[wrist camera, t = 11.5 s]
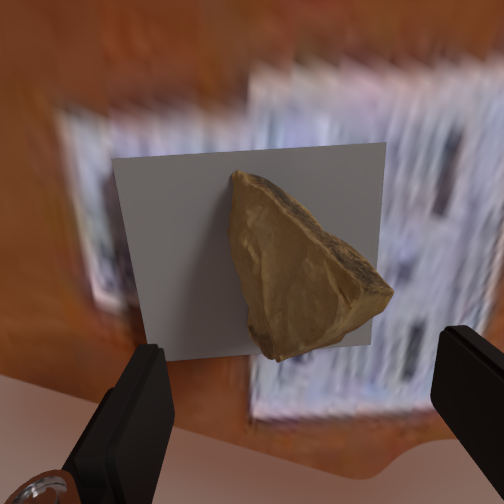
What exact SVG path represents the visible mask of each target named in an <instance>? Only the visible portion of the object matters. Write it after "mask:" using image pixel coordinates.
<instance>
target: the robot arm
mask: <svg viewBox="0 0 504 504" xmlns="http://www.w3.org/2000/svg"><path fill="white" fill-rule="evenodd" d="M430 398H431V402H432V404H433V406H434V408H435V409H436V410H437V412H438V413H439V414H440V416H441V417H442V418H443V420H444V421H445V423H446V424H447V425H448V427H449V428H450V429H451V431H452V432H453V433H454V435H455V436H456V437H457V439H458V440H459V441H460V443H461V444H462V445H463V446H464V448H465V449H466V451H467V452H468V453H469V455H470V456H471V457H472V459H473V460H474V461H475V463H476V464H477V465H478V467H479V468H480V469H481V471H482V472H483V473H484V475H485V476H486V477H487V479H488V480H489V481H490V483H491V484H492V486H493V487H494V488H495V490H496V491H497V492H498V494H499V495H500V496H501V498H502V499H503V500H504V353H502V352H501V351H500V350H499V349H497V348H496V347H495V346H493V345H492V344H491V343H489V342H488V341H487V340H486V339H484V338H483V337H482V336H480V335H479V334H478V333H476V332H475V331H474V330H473V329H471V328H470V327H468V326H467V325H458V326H447V327H446V328H445V329H444V331H441V333H440V335H439V342H438V348H437V355H436V361H435V368H434V374H433V380H432V387H431V393H430ZM174 417H175V411H174V405H173V399H172V393H171V387H170V382H169V376H168V370H167V364H166V359H165V353H164V349H163V348H159V347H158V345H157V344H141V345H139V346H138V347H137V349H136V350H135V352H134V354H133V356H132V357H131V359H130V361H129V363H128V364H127V366H126V368H125V370H124V371H123V373H122V375H121V377H120V379H119V380H118V382H117V384H116V386H115V387H114V388H111V389H109V390H108V391H107V393H106V394H105V396H104V397H103V399H102V401H101V403H100V404H99V406H98V408H97V409H96V411H95V413H94V414H93V416H92V418H91V419H90V421H89V423H88V425H87V426H86V428H85V430H84V431H83V433H82V435H81V437H80V438H79V440H78V441H77V443H76V445H75V447H74V448H73V450H72V452H71V453H70V455H69V457H68V458H67V460H66V462H65V463H64V465H63V467H62V469H61V470H51V471H47V472H43V473H41V474H39V475H37V476H35V477H33V478H32V479H30V480H29V481H27V482H26V483H24V484H23V485H22V486H20V487H19V488H18V489H17V490H16V491H15V492H14V493H13V494H12V495H11V496H10V497H9V498H8V499H7V501H6V502H5V503H4V504H152V500H153V497H154V493H155V489H156V485H157V482H158V478H159V475H160V471H161V467H162V463H163V460H164V456H165V453H166V449H167V445H168V441H169V438H170V434H171V430H172V427H173V423H174Z"/></svg>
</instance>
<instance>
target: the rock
mask: <svg viewBox="0 0 504 504" xmlns="http://www.w3.org/2000/svg"><path fill="white" fill-rule="evenodd" d="M231 179H232V181H233V186H234V190H233V196H232V209H231V213H230V217H229V229H228V230H227V233H228V237H229V243H230V247H231V257H232V260H233V262H234V265H235V270H236V273H237V274H238V275H239V278H240V282H241V290H242V293H243V296H244V298H245V300H246V303H247V305H248V307H249V312H248V321H247V331H248V333H249V337H250V338H252V340H253V341H254V343H255V345H256V346H258V347H259V348H260V349H261V352H262V353H263V355H264V356H265V357H267V358H268V359H270V360H273V359H275V360H276V362H277V363H278V362H281V361H283V360H285V359H288V358H290V357H294V356H297V355H301V354H304V353H307V352H309V351H312V350H314V349H318V348H323V347H327V346H330V345H333V344H337V343H339V342H341V341H342V339H343V338H344V336H345V335H346V334H347V333H350V332H352V331H355V330H356V329H358V328H359V327H360V326H362V325H363V324H365V323H366V322H367V321H369V320H370V319H371V318H373V317H374V316H376V315H378V314H379V313H381V312H383V311H384V309H385V308H386V306H387V305H388V303H389V301H390V299H391V298H392V296H393V294H394V290H393V289H392V288H391V287H390V286H389V285H388V284H387V283H386V282H385V281H384V280H383V279H382V278H381V276H380V275H379V274H378V272H377V271H376V270H375V269H374V267H373V266H372V265H371V264H370V263H369V262H368V261H367V259H366V258H364V257H363V256H362V255H361V254H360V253H359V252H358V251H357V250H356V249H354V248H353V247H352V246H351V245H349V244H348V243H346V242H345V241H343V240H341V239H339V238H338V237H336V236H334V235H332V234H330V233H328V232H325V231H324V230H323V229H322V227H321V225H320V224H319V223H318V221H317V220H316V219H315V218H314V217H313V215H312V214H311V213H310V211H309V210H308V209H306V208H305V207H304V206H303V205H301V204H300V203H299V202H298V201H297V200H296V199H295V198H294V197H292V196H291V195H289V194H288V193H287V192H285V191H284V190H283V189H281V188H280V187H278V186H276V185H275V184H273V183H272V182H271V181H269V180H267V179H265V178H263V177H260V176H258V175H254V174H249V173H245V172H242V171H240V170H236V171H235V172H234V173H233V174H232V178H231Z"/></svg>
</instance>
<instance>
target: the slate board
mask: <svg viewBox="0 0 504 504" xmlns="http://www.w3.org/2000/svg"><path fill="white" fill-rule="evenodd" d="M386 143H387V142H384V143H368V144H351V145H334V146H318V147H301V148H284V149H268V150H251V151H235V152H218V153H201V154H185V155H168V156H151V157H135V158H118V159H111V160H112V165H113V170H114V175H115V180H116V185H117V191H118V196H119V201H120V206H121V211H122V216H123V221H124V226H125V231H126V236H127V242H128V247H129V252H130V257H131V262H132V267H133V272H134V277H135V282H136V287H137V292H138V298H139V303H140V308H141V313H142V318H143V323H144V328H145V333H146V338H147V343H148V344H157V345H158V347H159V348H163V349H164V353H165V359H166V361H177V360H189V359H201V358H213V357H225V356H238V355H250V354H262V352H261V349H260V348H259V347H258V346H256V345H255V343H254V341H253V340H252V338H250V337H249V333H248V331H247V321H248V312H249V307H248V305H247V303H246V300H245V298H244V296H243V293H242V290H241V282H240V278H239V275H238V274H237V273H236V270H235V265H234V262H233V260H232V257H231V247H230V243H229V237H228V233H227V230H228V229H229V217H230V213H231V209H232V196H233V190H234V186H233V181H232V179H231V178H232V174H233V173H234V172H235V171H236V170H240V171H242V172H245V173H249V174H254V175H258V176H260V177H263V178H265V179H267V180H269V181H271V182H272V183H273V184H275V185H276V186H278V187H280V188H281V189H283V190H284V191H285V192H287V193H288V194H289V195H291V196H292V197H294V198H295V199H296V200H297V201H298V202H299V203H300V204H301V205H303V206H304V207H305V208H306V209H308V210H309V211H310V213H311V214H312V215H313V217H314V218H315V219H316V220H317V221H318V223H319V224H320V225H321V227H322V229H323V230H324V231H325V232H328V233H330V234H332V235H334V236H336V237H338V238H339V239H341V240H343V241H345V242H346V243H348V244H349V245H351V246H352V247H353V248H354V249H356V250H357V251H358V252H359V253H360V254H361V255H362V256H363V257H364V258H366V259H367V261H368V262H369V263H370V264H371V265H372V266H373V267H374V269H375V270H376V268H377V256H378V243H379V231H380V218H381V206H382V193H383V180H384V168H385V155H386ZM372 319H373V318H371V319H370V320H369V321H367V322H366V323H365V324H363V325H362V326H360V327H359V328H358V329H356V330H355V331H352V332H350V333H347V334H346V335H345V336H344V338H343V339H342V341H341V342H339V343H337V344H333V345H330V346H327V347H323V348H334V347H347V346H359V345H370V344H371V331H372ZM318 349H322V348H318Z"/></svg>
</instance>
